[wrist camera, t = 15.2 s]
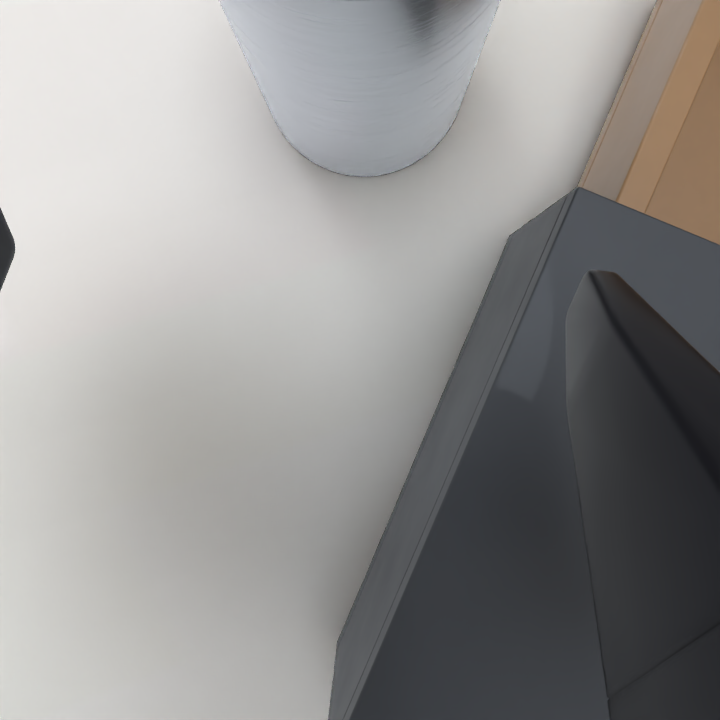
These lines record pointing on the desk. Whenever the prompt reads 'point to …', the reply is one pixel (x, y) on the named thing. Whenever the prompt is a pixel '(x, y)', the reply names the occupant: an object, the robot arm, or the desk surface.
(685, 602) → the robot arm
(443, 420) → the organizer
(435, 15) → the steel cup
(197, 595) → the desk surface
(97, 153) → the desk surface
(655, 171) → the drawer
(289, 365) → the desk surface
